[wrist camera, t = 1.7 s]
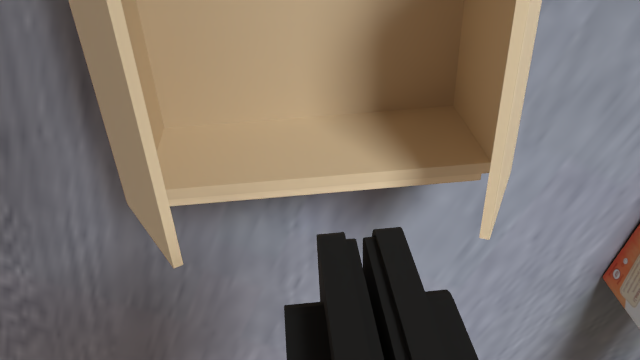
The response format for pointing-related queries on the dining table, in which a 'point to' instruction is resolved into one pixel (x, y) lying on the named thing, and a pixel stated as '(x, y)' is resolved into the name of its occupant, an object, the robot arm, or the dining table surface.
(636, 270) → the cracker box
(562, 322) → the dining table surface
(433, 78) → the carton
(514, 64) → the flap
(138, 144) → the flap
